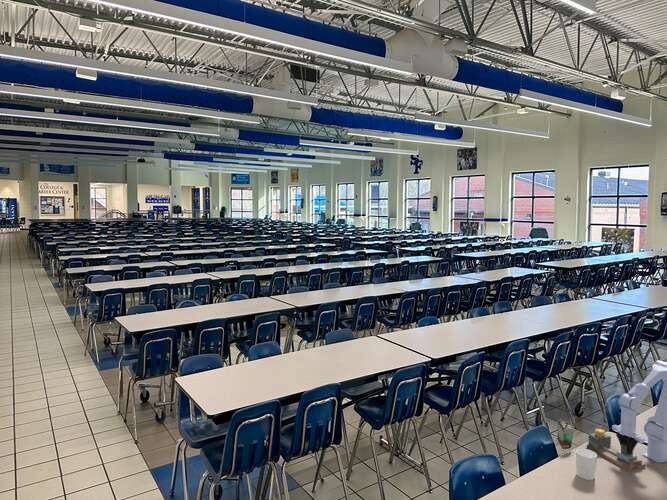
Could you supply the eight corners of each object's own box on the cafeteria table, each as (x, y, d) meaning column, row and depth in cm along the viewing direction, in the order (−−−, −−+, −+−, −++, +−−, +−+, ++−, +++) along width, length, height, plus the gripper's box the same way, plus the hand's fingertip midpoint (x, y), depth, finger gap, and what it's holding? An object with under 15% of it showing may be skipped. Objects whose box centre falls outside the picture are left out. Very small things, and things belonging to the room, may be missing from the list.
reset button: (599, 438, 229) (599, 428, 228) (606, 441, 225) (606, 431, 224) (592, 439, 227) (593, 429, 227) (599, 442, 224) (600, 432, 223)
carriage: (624, 455, 216) (625, 441, 216) (636, 461, 210) (637, 447, 210) (616, 457, 214) (617, 442, 214) (628, 463, 209) (628, 448, 208)
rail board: (603, 444, 230) (603, 431, 230) (645, 467, 209) (645, 453, 209) (586, 447, 227) (587, 434, 227) (627, 470, 206) (628, 456, 206)
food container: (577, 451, 223) (578, 430, 223) (563, 450, 224) (564, 429, 224) (569, 439, 235) (570, 420, 235) (556, 438, 236) (557, 419, 236)
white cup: (578, 469, 207) (579, 446, 207) (598, 476, 202) (599, 453, 201) (572, 475, 202) (573, 452, 201) (592, 483, 196) (593, 459, 196)
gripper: (607, 416, 217) (606, 445, 218) (636, 430, 203) (634, 460, 204) (619, 414, 219) (618, 443, 220) (648, 428, 205) (647, 458, 206)
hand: (626, 451), depth 212 cm, fingers closed on carriage, 2 cm apart
